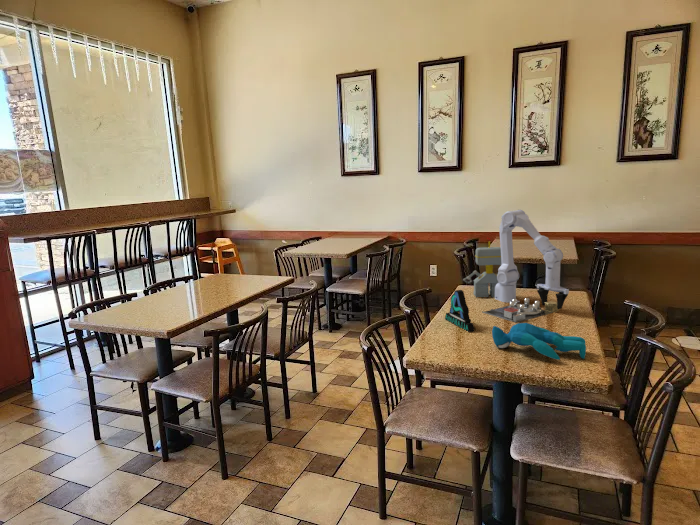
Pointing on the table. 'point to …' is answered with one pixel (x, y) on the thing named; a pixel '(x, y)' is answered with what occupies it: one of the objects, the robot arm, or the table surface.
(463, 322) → the decorative sign
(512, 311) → the red-ended rectangular metal block
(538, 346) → the toy
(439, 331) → the table surface
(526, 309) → the pinned metal disc
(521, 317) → the base plate
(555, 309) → the link block
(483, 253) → the toy
